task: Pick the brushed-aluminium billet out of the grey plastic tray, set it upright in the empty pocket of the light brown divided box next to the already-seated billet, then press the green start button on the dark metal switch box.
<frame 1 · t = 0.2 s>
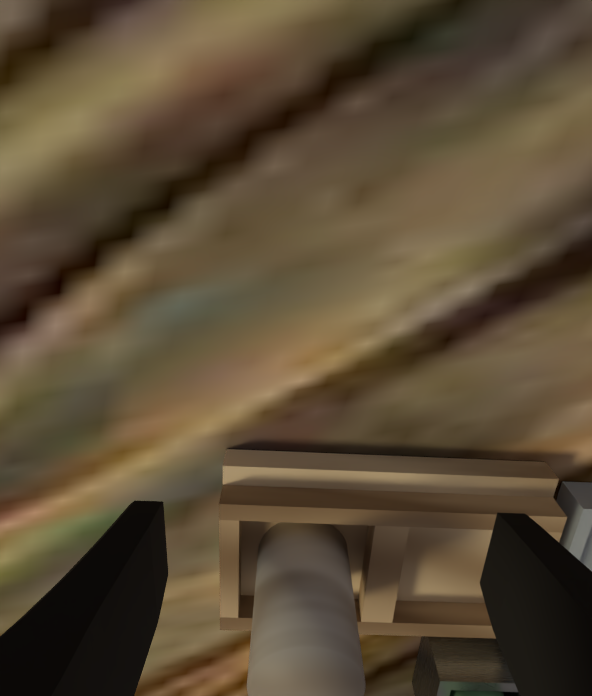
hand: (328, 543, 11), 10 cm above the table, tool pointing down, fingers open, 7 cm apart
light brown divided box: (375, 535, 24), on the table
switch box: (460, 654, 27), on the table
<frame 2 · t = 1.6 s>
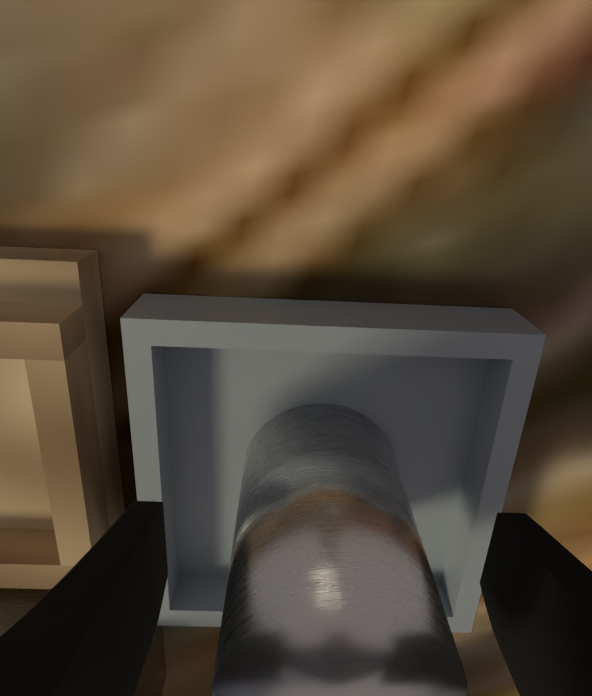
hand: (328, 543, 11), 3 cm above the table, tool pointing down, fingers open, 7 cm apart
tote: (318, 456, 14), on the table
billet: (319, 469, 13), point 1 cm above the table, touching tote
switch box: (91, 628, 17), on the table
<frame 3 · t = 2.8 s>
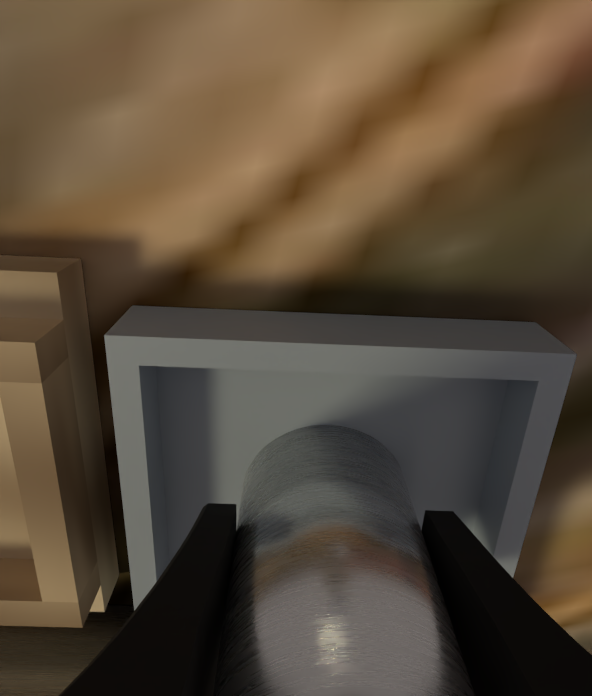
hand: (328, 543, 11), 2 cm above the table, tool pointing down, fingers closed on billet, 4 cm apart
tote: (322, 479, 13), on the table
billet: (323, 494, 12), point 1 cm above the table, touching gripper, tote
switch box: (80, 658, 16), on the table
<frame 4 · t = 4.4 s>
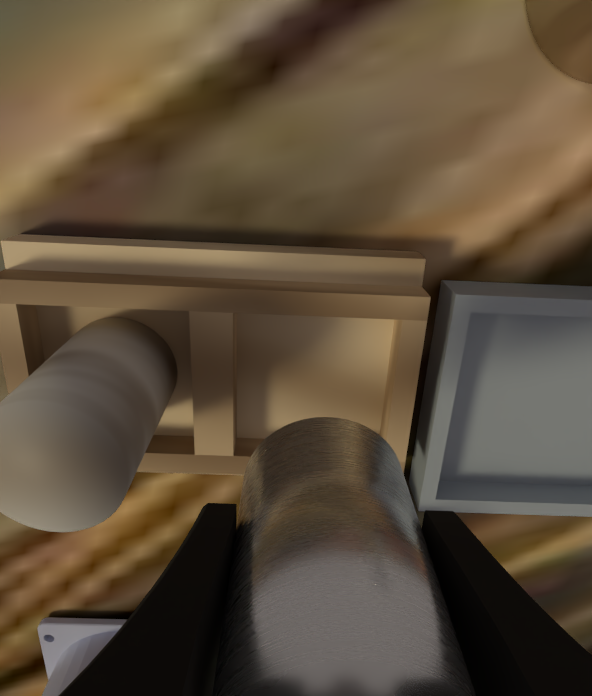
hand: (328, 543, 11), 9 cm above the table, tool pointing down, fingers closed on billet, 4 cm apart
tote: (535, 394, 20), on the table
billet: (323, 486, 13), point 7 cm above the table, touching gripper
light brown divided box: (221, 359, 19), on the table
when the fingers open (4 cm above the table, at t = 6.3 s): billet stays where it is, resting on light brown divided box.
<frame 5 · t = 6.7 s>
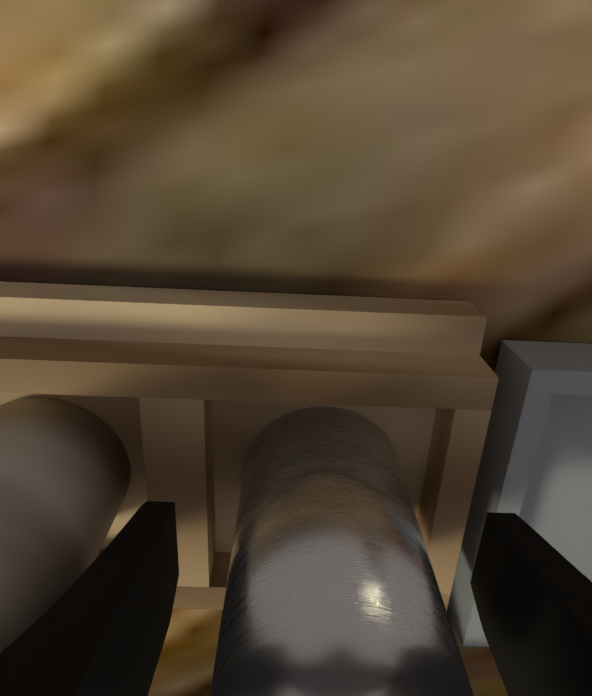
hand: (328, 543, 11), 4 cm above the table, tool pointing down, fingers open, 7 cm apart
billet: (321, 473, 13), point 1 cm above the table, touching light brown divided box
light brown divided box: (195, 443, 14), on the table
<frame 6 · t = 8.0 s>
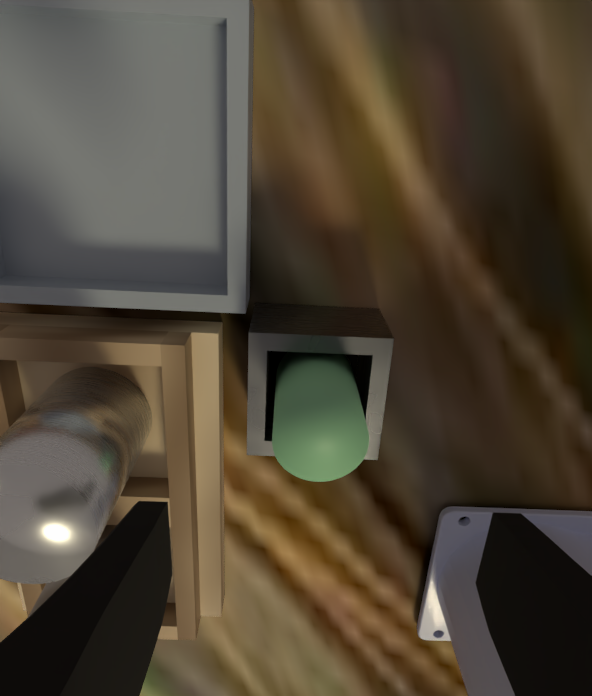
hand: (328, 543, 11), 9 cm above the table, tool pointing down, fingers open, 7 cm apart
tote: (115, 160, 17), on the table
billet: (98, 415, 19), point 1 cm above the table, touching light brown divided box
start button: (317, 405, 16), point 3 cm above the table, slide at 0.0 cm
light brown divided box: (117, 471, 22), on the table
switch box: (313, 362, 20), on the table
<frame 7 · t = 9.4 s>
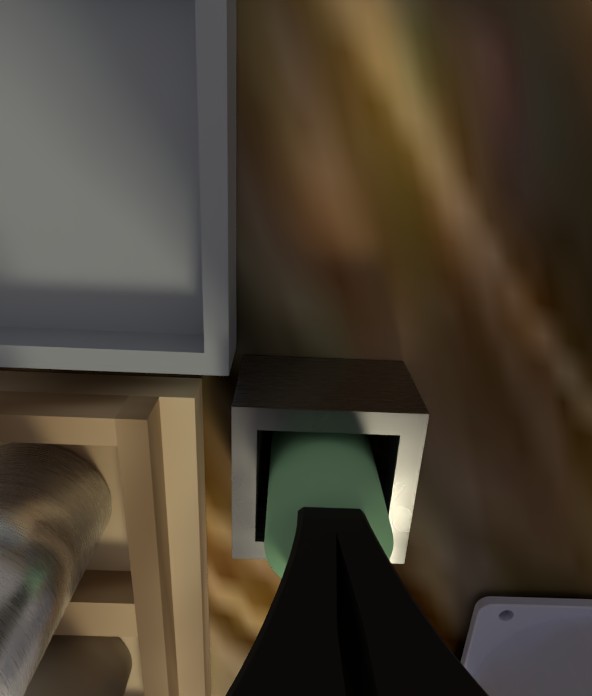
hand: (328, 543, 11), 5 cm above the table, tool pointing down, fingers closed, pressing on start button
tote: (54, 173, 12), on the table
billet: (43, 498, 15), point 1 cm above the table, touching light brown divided box
start button: (323, 484, 13), point 3 cm above the table, slide at 0.7 cm, touching gripper
light brown divided box: (75, 556, 17), on the table
switch box: (318, 427, 15), on the table
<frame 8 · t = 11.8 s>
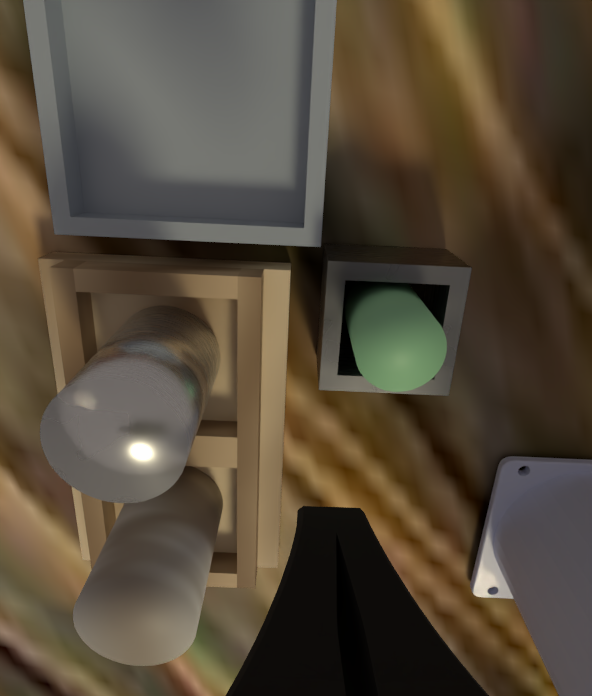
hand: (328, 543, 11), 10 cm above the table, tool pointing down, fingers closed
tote: (194, 97, 17), on the table
billet: (168, 355, 19), point 1 cm above the table, touching light brown divided box
start button: (389, 327, 17), point 3 cm above the table, slide at 0.8 cm
light brown divided box: (179, 418, 22), on the table
switch box: (378, 305, 20), on the table
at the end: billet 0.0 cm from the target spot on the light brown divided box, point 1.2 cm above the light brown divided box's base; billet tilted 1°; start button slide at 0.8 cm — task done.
